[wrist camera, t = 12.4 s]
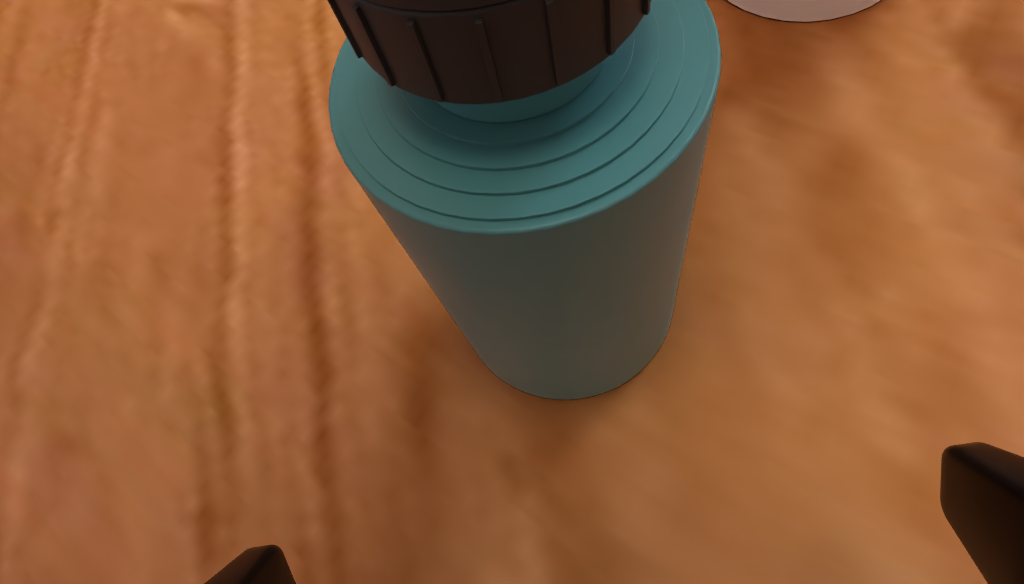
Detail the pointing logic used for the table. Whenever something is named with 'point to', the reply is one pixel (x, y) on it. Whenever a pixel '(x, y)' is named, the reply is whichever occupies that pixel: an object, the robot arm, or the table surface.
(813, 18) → the cylindrical container
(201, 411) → the table surface
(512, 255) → the bottle
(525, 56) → the cap
